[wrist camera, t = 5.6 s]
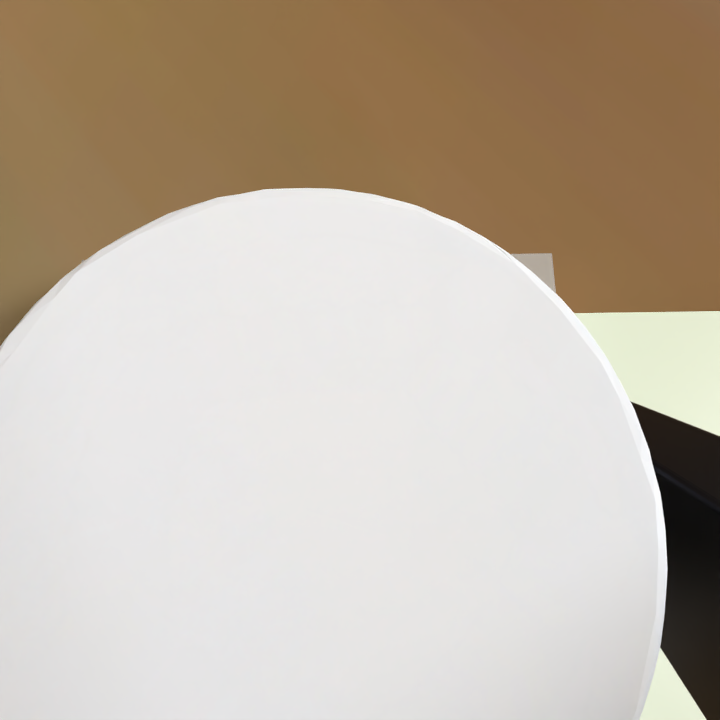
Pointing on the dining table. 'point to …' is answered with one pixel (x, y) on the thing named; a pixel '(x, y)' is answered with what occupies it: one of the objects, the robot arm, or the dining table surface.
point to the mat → (672, 398)
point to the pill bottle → (320, 480)
